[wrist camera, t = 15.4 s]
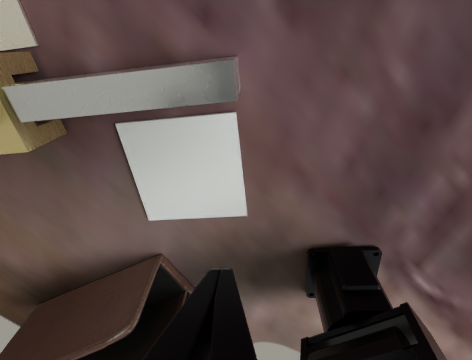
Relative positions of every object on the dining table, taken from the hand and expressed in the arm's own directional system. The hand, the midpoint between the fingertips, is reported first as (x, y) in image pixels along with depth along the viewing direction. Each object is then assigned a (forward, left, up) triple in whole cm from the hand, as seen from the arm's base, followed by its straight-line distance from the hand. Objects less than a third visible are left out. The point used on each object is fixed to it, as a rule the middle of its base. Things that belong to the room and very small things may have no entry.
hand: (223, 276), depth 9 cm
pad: (-1, +4, -12) cm, 12 cm away
